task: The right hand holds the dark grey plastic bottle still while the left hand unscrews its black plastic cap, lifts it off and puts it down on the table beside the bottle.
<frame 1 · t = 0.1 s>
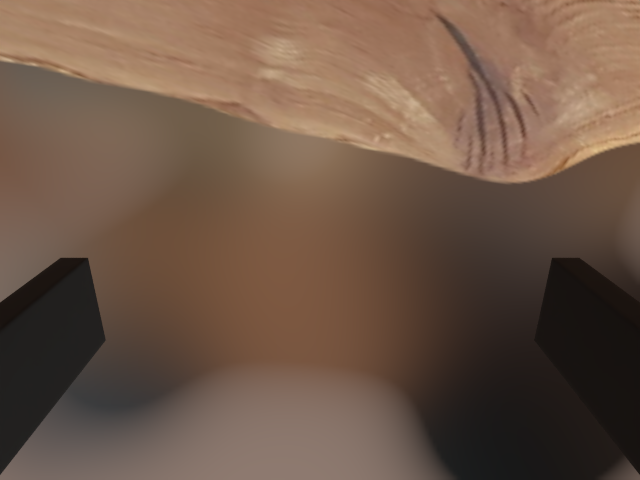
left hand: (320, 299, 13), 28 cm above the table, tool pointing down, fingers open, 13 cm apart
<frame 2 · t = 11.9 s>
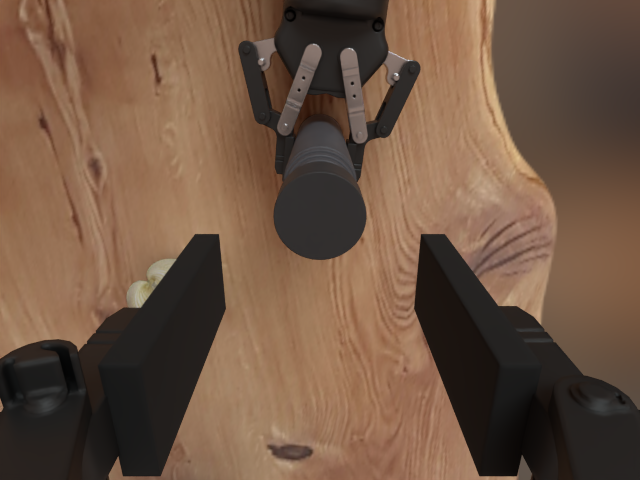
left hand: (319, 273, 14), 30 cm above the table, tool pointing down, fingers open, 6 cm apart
right hand: (316, 181, 36), fingers closed on bottle, 4 cm apart
bottle: (320, 137, 42), on the table, touching right hand
seashell: (177, 293, 48), on the table
cap: (319, 215, 20), point 24 cm above the table, screwed on, not yet turned
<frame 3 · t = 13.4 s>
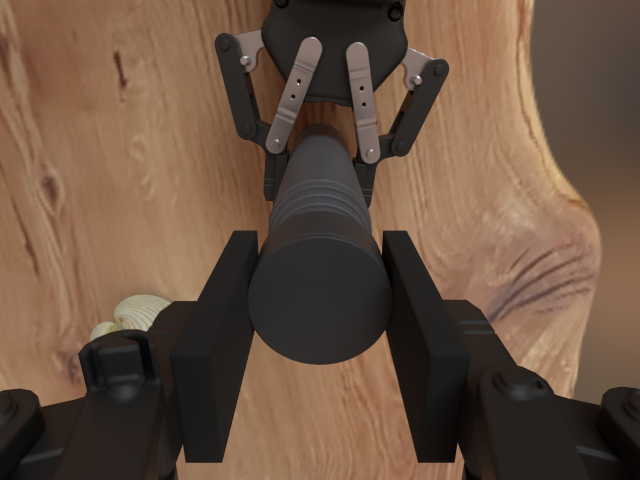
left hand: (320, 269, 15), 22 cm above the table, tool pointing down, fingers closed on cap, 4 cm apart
right hand: (316, 209, 29), fingers closed on bottle, 4 cm apart
bottle: (320, 151, 35), on the table, touching right hand
seashell: (153, 332, 41), on the table
cap: (320, 299, 13), point 24 cm above the table, screwed on, not yet turned, touching left hand
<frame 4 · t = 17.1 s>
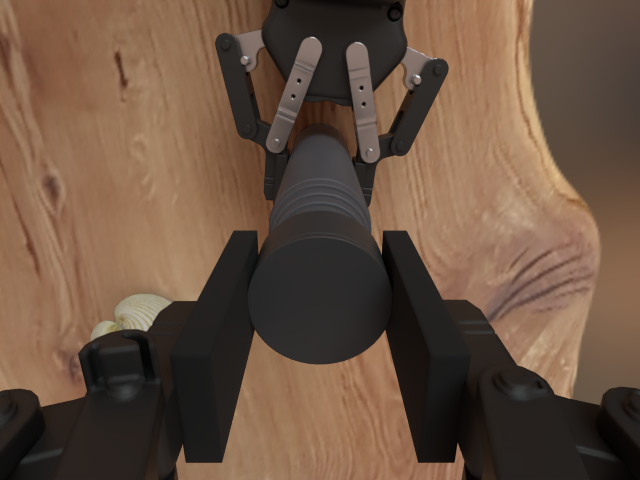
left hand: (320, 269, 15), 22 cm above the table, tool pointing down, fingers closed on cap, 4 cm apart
right hand: (316, 209, 29), fingers closed on bottle, 4 cm apart
bottle: (320, 151, 35), on the table, touching right hand
seashell: (153, 332, 41), on the table
cap: (320, 299, 13), point 24 cm above the table, turned 120° so far, risen 0.1 cm, still on its thread, touching left hand
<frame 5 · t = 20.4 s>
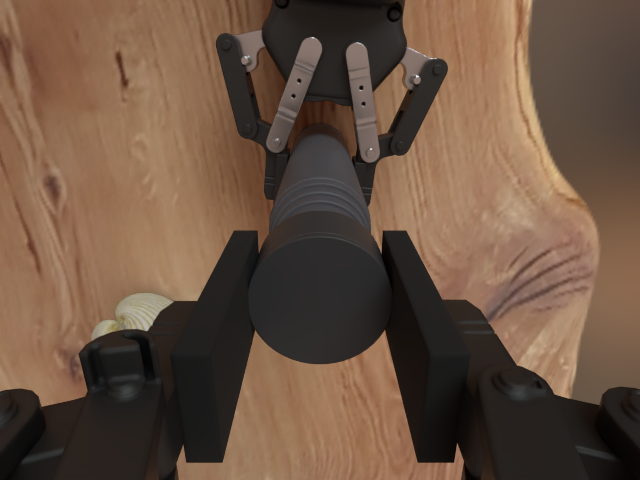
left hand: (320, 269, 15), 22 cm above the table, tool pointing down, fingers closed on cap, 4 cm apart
right hand: (316, 208, 30), fingers closed on bottle, 4 cm apart
bottle: (320, 150, 35), on the table, touching right hand
seashell: (154, 331, 41), on the table
cap: (320, 299, 13), point 24 cm above the table, turned 239° so far, risen 0.3 cm, still on its thread, touching left hand
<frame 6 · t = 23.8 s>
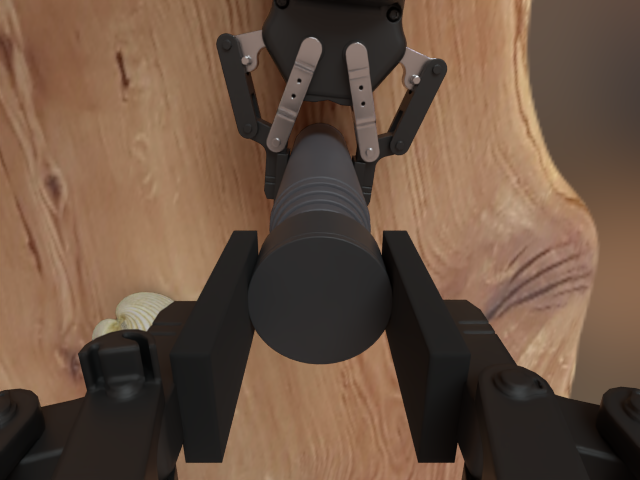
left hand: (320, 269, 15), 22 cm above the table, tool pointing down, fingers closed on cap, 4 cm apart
right hand: (316, 207, 30), fingers closed on bottle, 4 cm apart
bottle: (320, 150, 35), on the table, touching right hand
seashell: (154, 330, 41), on the table
cap: (320, 299, 13), point 24 cm above the table, turned 359° so far, risen 0.4 cm, still on its thread, touching left hand
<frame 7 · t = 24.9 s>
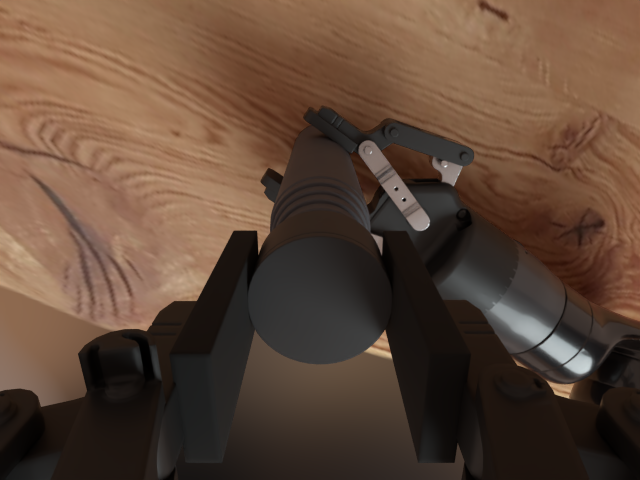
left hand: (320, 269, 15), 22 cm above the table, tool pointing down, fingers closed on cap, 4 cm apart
bottle: (320, 150, 35), on the table, touching right hand
cap: (320, 299, 13), point 24 cm above the table, off its thread, touching left hand
when the left hand's fingers open (1 cm above the table, at t = 32.4 s): cap drops 1 cm, point 2 cm above the table.
when the right hand's fingers open (7 cm above the table, at t = 33.6 s): bottle stays where it is, on the table.
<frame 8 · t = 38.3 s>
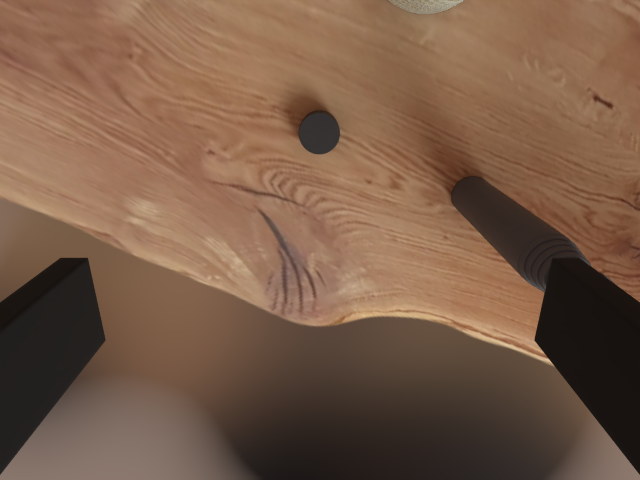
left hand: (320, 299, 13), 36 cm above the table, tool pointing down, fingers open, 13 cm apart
bottle: (470, 194, 49), on the table
cap: (319, 133, 44), point 2 cm above the table, off its thread
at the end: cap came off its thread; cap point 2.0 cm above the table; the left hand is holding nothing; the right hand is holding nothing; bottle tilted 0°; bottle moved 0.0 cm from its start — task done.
